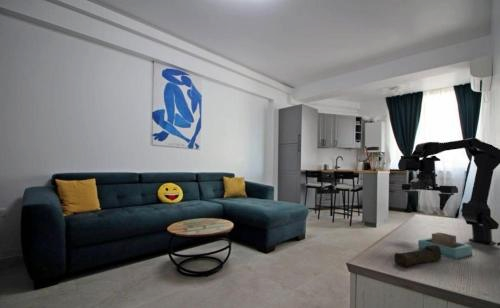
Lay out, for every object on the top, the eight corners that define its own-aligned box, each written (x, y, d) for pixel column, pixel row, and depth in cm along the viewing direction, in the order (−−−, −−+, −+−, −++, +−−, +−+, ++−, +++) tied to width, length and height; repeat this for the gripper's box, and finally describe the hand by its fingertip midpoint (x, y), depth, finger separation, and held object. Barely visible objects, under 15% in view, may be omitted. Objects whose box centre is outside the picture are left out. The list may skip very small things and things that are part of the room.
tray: (435, 244, 88) (434, 237, 88) (472, 254, 78) (471, 245, 79) (418, 248, 84) (418, 240, 84) (455, 259, 74) (455, 249, 74)
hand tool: (406, 270, 65) (405, 253, 66) (393, 264, 69) (393, 248, 69) (450, 262, 71) (449, 247, 72) (436, 258, 75) (436, 243, 75)
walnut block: (440, 246, 84) (439, 232, 85) (456, 250, 80) (455, 235, 80) (432, 247, 82) (431, 233, 83) (449, 252, 78) (448, 237, 78)
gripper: (393, 171, 102) (394, 206, 101) (442, 171, 85) (444, 213, 84) (408, 171, 107) (409, 205, 105) (457, 171, 90) (460, 211, 88)
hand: (428, 208), depth 96 cm, fingers open, 9 cm apart
